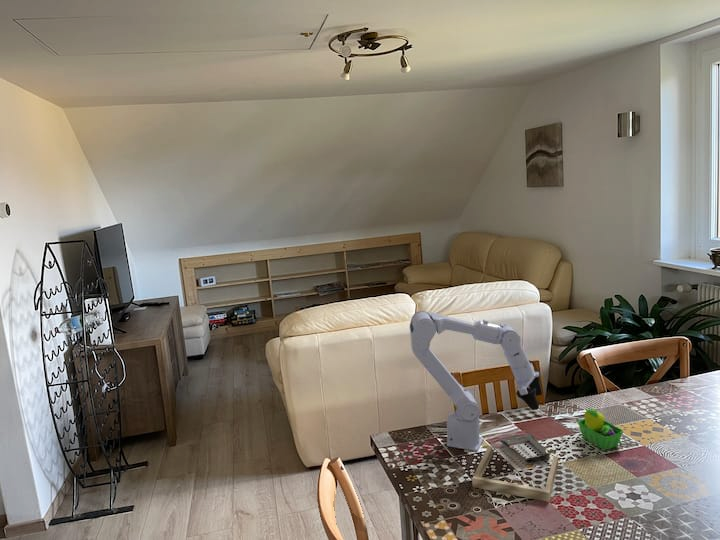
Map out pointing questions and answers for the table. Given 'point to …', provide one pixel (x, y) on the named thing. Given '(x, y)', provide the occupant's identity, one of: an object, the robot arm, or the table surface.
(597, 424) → the fruit basket
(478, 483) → the frame
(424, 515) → the table surface
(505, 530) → the table surface
